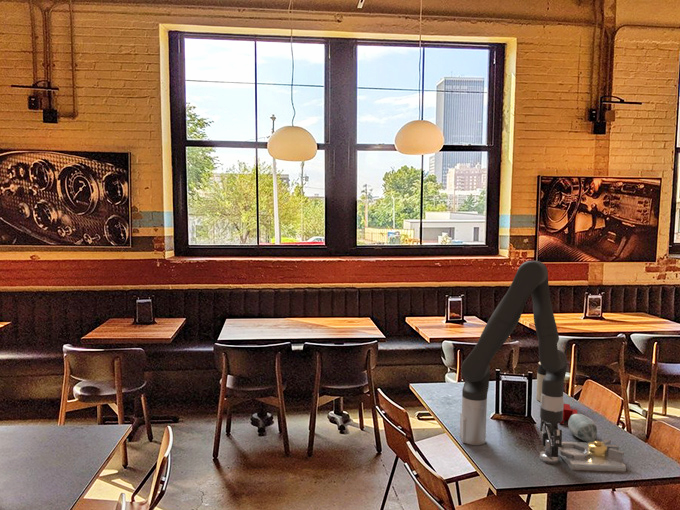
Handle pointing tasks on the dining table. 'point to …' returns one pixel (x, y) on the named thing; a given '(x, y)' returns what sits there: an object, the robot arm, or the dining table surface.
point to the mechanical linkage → (567, 412)
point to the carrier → (592, 456)
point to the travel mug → (540, 381)
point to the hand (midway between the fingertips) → (549, 451)
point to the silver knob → (548, 454)
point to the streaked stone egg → (582, 427)
